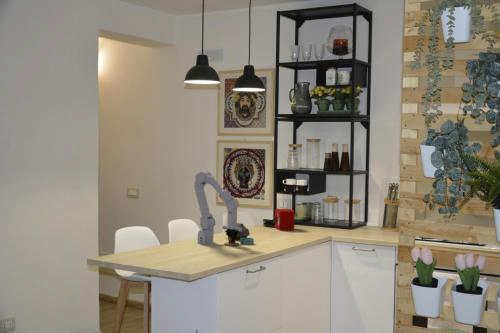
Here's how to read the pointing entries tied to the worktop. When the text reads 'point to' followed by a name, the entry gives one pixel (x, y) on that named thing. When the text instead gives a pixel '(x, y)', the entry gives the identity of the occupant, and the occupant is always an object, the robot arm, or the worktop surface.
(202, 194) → the robot arm
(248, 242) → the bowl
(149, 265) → the worktop surface
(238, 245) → the lid
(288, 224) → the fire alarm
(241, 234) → the stone
